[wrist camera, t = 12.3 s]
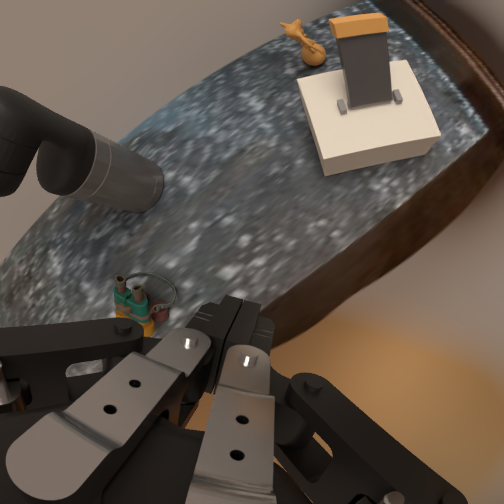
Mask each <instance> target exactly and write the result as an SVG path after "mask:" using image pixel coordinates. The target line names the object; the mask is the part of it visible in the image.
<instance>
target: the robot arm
mask: <svg viewBox="0 0 504 504" xmlns="http://www.w3.org/2000/svg"><path fill="white" fill-rule="evenodd" d="M38 148H39V150H38ZM37 150H38V156H37V164H36V168H37V169H36V170H37V177H38V181H39V183H40V185H41V186H42V188H44V189H45V190H46V191H48V192H50V193H53V194H57V195H61V196H65V197H70V198H74V199H79V200H83V201H88V202H92V203H97V204H101V205H105V206H110V207H114V208H118V209H122V210H127V211H131V212H136V213H140V212H144V211H147V210H148V209H150V208H151V207H152V206H154V205H155V203H156V202H157V201H158V199H159V197H160V196H161V193H162V190H163V184H164V179H163V174H162V171H161V169H160V168H159V166H158V165H157V164H156V163H154V162H152V161H151V160H149V159H147V158H145V157H143V156H141V155H139V154H137V153H135V152H133V151H131V150H130V149H128V148H126V147H124V146H122V145H120V144H118V143H116V142H114V141H112V140H110V139H108V138H106V137H104V136H102V135H100V134H98V133H96V132H93V131H92V130H89V129H88V128H86V127H83V126H82V125H80V124H77V123H75V122H73V121H71V120H69V119H67V118H65V117H63V116H61V115H59V114H57V113H55V112H53V111H51V110H50V109H48V108H46V107H44V106H43V105H41V104H39V103H37V102H36V101H34V100H32V99H31V98H29V97H27V96H26V95H24V94H22V93H19V92H18V91H16V90H13V89H11V88H8V87H4V86H0V197H4V196H8V195H11V194H12V193H14V192H15V191H16V190H17V188H18V187H19V186H20V184H21V182H22V180H23V178H24V176H25V174H26V172H27V170H28V168H29V166H30V164H31V162H32V160H33V158H34V156H35V154H36V152H37ZM242 303H243V304H242ZM260 308H261V304H257V303H254V302H250V301H246V300H244V302H243V299H239V298H235V297H232V296H228V295H225V297H224V298H223V300H222V302H221V303H220V305H218V304H215V303H211V302H210V303H207V304H205V305H202V306H201V307H200V309H199V310H198V312H197V313H196V314H195V315H194V317H193V318H192V319H191V320H190V322H189V323H188V324H187V326H186V327H185V328H178V329H174V330H172V331H171V332H170V333H169V334H168V335H167V336H166V337H164V338H163V339H158V338H151V337H145V336H144V328H143V326H142V325H141V324H140V323H138V322H136V321H134V320H132V319H128V318H122V317H117V318H108V319H98V320H89V321H79V322H69V323H58V324H47V325H35V326H21V327H7V328H0V504H313V503H314V504H468V502H467V500H466V498H465V496H464V495H463V494H462V493H461V492H460V491H459V490H457V489H456V488H455V487H454V486H452V485H451V484H450V483H448V482H447V481H446V480H445V479H443V478H442V477H441V476H440V475H438V474H437V473H436V472H434V471H433V470H432V469H431V468H430V467H428V466H427V465H426V464H425V463H423V462H422V461H421V460H420V459H418V458H417V457H416V456H415V455H413V454H412V453H411V452H410V451H409V450H407V449H406V448H405V447H404V446H403V445H401V444H400V443H399V442H398V441H396V440H395V439H394V438H393V437H392V436H391V435H389V434H388V433H387V432H386V431H385V430H384V429H382V428H381V427H380V426H379V425H378V424H377V423H375V422H374V421H373V420H372V419H370V417H368V416H367V415H366V414H365V413H364V412H363V411H362V410H360V409H359V408H358V407H357V406H356V405H355V404H354V403H352V402H351V401H350V400H349V399H348V398H347V397H346V396H344V395H343V394H342V393H341V392H340V391H339V390H338V389H337V388H336V387H334V386H333V385H332V384H331V383H330V382H329V381H328V380H326V379H325V378H323V377H321V376H319V375H316V374H312V373H299V374H296V375H294V376H293V377H292V378H291V379H289V378H287V377H284V376H282V375H281V374H279V373H277V372H276V371H275V370H274V369H273V368H272V367H271V365H270V358H269V356H270V350H271V345H272V339H273V333H274V328H275V325H274V324H273V322H272V320H271V319H269V318H265V317H261V316H258V315H259V312H260ZM99 359H102V363H103V372H98V373H92V374H86V375H80V376H74V377H66V374H65V372H66V369H67V368H68V367H69V366H70V365H71V364H74V363H80V362H86V361H93V360H99ZM214 386H215V389H214ZM213 389H214V393H213V394H214V395H215V397H214V401H213V404H212V408H211V412H210V416H209V419H208V423H207V426H206V430H205V431H197V430H189V429H185V427H186V426H187V424H188V422H189V421H190V419H191V417H192V416H193V414H194V412H195V411H196V409H197V407H198V405H199V400H200V398H201V397H202V395H203V393H204V392H207V393H212V391H213ZM315 432H316V433H317V434H318V435H319V436H320V437H321V438H322V439H323V440H324V441H325V442H326V443H327V444H328V445H329V447H330V448H331V450H332V454H333V458H332V457H331V456H330V455H329V454H328V452H327V451H325V449H324V448H323V447H322V446H321V445H320V444H319V443H318V442H317V441H316V440H315V439H314V438H313V437H312V436H313V435H314V433H315ZM274 456H275V458H277V460H278V461H279V462H280V464H281V465H282V466H283V468H284V469H285V470H286V471H287V472H288V473H287V472H286V471H285V470H284V469H283V468H281V467H280V466H279V465H278V464H276V463H275V462H273V457H274ZM301 489H302V490H303V491H302V490H301ZM304 493H305V494H306V495H307V496H308V497H309V498H310V500H311V501H312V502H313V503H312V502H311V501H310V500H309V498H308V497H307V496H306V495H305V494H304Z"/></svg>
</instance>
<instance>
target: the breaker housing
mask: <svg viewBox="0 0 504 504" xmlns="http://www.w3.org/2000/svg"><path fill="white" fill-rule="evenodd" d="M389 63H390V74H391V87H392V96H393V100H392V101H386V102H380V103H374V104H369V105H363V106H358V107H353V108H348V105H347V102H348V99H347V93H346V87H345V81H344V76H343V70H336V71H331V72H327V73H322V74H317V75H313V76H308V77H304V78H300V79H297V81H298V86H299V90H300V95H301V99H302V104H303V108H304V111H305V114H306V117H307V120H308V123H309V126H310V129H311V132H312V135H313V139H314V142H315V145H316V148H317V152H318V155H319V158H320V162H321V165H322V169H323V172H324V176H329V175H333V174H337V173H341V172H346V171H350V170H355V169H359V168H364V167H368V166H373V165H377V164H382V163H387V162H391V161H396V160H401V159H406V158H411V157H416V156H421V155H425V154H426V153H427V152H428V151H429V149H430V148H431V147H432V146H433V145H434V143H435V142H436V141H437V140H438V139H439V138H440V136H441V134H440V131H439V129H438V126H437V124H436V121H435V119H434V117H433V114H432V112H431V110H430V107H429V105H428V103H427V101H426V98H425V96H424V94H423V92H422V90H421V88H420V86H419V84H418V82H417V80H416V78H415V76H414V74H413V72H412V70H411V68H410V66H409V64H408V62H407V60H401V61H393V62H389Z"/></svg>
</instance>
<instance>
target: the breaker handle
mask: <svg viewBox="0 0 504 504" xmlns="http://www.w3.org/2000/svg"><path fill="white" fill-rule="evenodd" d="M329 23H330V27H331V31H332V34H333V35H334V36H335V37H336V41H337V46H338V51H339V55H340V60H341V65H342V70H343V76H344V81H345V87H346V93H347V99H348V102H347V105H348V108H353V107H358V106H363V105H369V104H374V103H380V102H386V101H392V100H393V96H392V87H391V74H390V63H389V53H388V44H387V36H386V32H389V29H388V22H387V17H386V16H384V15H382V14H381V13H371V14H362V15H354V16H347V17H340V18H334V19H329Z"/></svg>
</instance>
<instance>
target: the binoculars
mask: <svg viewBox="0 0 504 504" xmlns="http://www.w3.org/2000/svg"><path fill="white" fill-rule="evenodd" d="M137 276H150V277H154V278H158V279H160V280H162V281H164V282H165V283H167V284H168V285H169V286H170V287H171V288H172V289H173V291H174V294H175V295H174V299H173V301H172V302H171V303H168V304H166V303H164V302H161V301H157V302H154V303H152V304H151V306H150V309H149V305H148V300H147V295H146V294H145V293H144V292H143V287H142V285H135V286H133V287H132V292H133V293H132V294H131V290H130V289H128V288H127V287H126V281H127V280H129V279H131V278H133V277H137ZM115 280H116V286H117V287H115V288H114V298H115V299H114V302H115V305H116V310H115V313H116V318H117V317H122V318H128V319H132V320H135V321H136V322H138V323H140V324H141V325H142V326H143V328H144V336H145V337H150V336H152V335H153V334H154V332H155V326H154V321H163V320H166V319H167V318H168V316H169V313H168V307H171V306H172V305H173V304H174V302H175V299H176V291H175V287H174V286H173V285H172V284H171V283H170V282H169V281H168V280H167V279H165V278H163V277H162V276H159V275H156V274H153V273H148V272H139V273H134V274H131V275H129V276H127V277H124V276H123V275H121V274H117V275H116V276H115ZM151 318H152V319H151Z"/></svg>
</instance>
